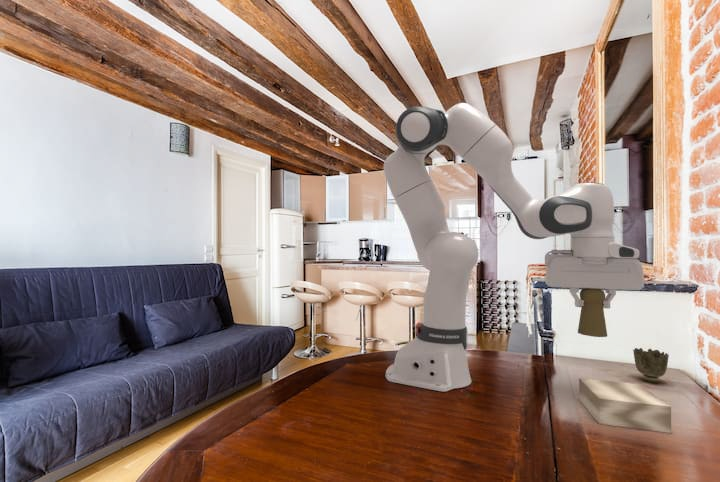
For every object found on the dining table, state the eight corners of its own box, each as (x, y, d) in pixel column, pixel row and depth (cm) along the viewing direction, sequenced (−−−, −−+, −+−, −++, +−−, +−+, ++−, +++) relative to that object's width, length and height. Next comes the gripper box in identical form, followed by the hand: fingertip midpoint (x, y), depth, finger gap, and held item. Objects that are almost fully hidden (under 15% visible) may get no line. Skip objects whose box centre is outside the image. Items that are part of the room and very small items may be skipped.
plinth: (599, 423, 70) (599, 398, 71) (579, 399, 82) (579, 378, 82) (671, 433, 67) (671, 406, 67) (639, 406, 79) (639, 384, 79)
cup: (638, 383, 93) (638, 353, 93) (629, 374, 100) (629, 346, 100) (674, 388, 90) (673, 356, 91) (662, 378, 97) (661, 349, 97)
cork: (613, 337, 81) (613, 289, 82) (585, 336, 82) (585, 289, 82) (598, 331, 87) (598, 287, 88) (572, 330, 88) (573, 286, 88)
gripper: (548, 249, 85) (548, 306, 84) (647, 250, 80) (648, 312, 79) (541, 249, 91) (541, 303, 91) (633, 250, 86) (634, 307, 85)
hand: (592, 307), depth 85 cm, fingers closed on cork, 4 cm apart
